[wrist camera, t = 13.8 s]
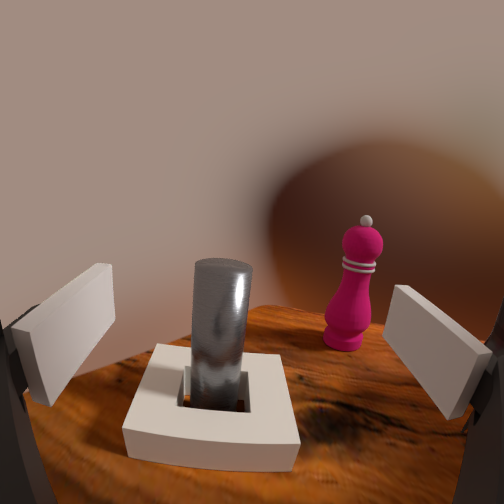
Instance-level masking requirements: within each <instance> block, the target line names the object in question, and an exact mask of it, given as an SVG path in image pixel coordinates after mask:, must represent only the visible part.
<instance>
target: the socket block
mask: <svg viewBox="0 0 504 504" xmlns="http://www.w3.org/2000/svg"><path fill="white" fill-rule="evenodd" d="M190 373H191V348H188V347H180V346H172V345H164V344H157V345H156V348H155V350H154V352H153V354H152V357H151V359H150V361H149V364H148V366H147V368H146V371H145V373H144V375H143V378H142V380H141V382H140V385H139V387H138V389H137V392H136V394H135V397H134V399H133V401H132V404H131V406H130V409H129V411H128V414H127V416H126V418H125V421H124V423H123V426H122V430H123V435H124V440H125V444H126V449H127V453H128V457H131V458H135V459H140V460H146V461H151V462H157V463H163V464H169V465H176V466H183V467H192V468H201V469H211V470H225V471H244V472H291V471H292V468H293V465H294V462H295V459H296V456H297V453H298V450H299V447H300V444H301V443H300V439H299V434H298V430H297V426H296V422H295V417H294V413H293V409H292V405H291V400H290V396H289V392H288V388H287V383H286V379H285V375H284V371H283V366H282V362H281V358H280V355H272V354H255V353H243V357H242V365H241V374H240V382H239V391H238V399H237V400H244V402H245V413H242V412H227V411H215V410H204V409H195V408H186V407H182V406H183V401H184V396H185V395H190Z"/></svg>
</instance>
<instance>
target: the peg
mask: <svg viewBox="0 0 504 504" xmlns="http://www.w3.org/2000/svg"><path fill="white" fill-rule="evenodd" d="M252 271H253V269H252V267H251V266H250V265H249V264H246V263H244V262H241V261H236V260H232V259H223V258H208V259H202V260H199V261H197V262H196V263H195V273H194V291H193V311H192V336H191V373H190V408H195V409H204V410H215V411H227V412H236V408H237V399H238V391H239V382H240V374H241V365H242V357H243V348H244V340H245V331H246V323H247V314H248V306H249V297H250V288H251V280H252Z"/></svg>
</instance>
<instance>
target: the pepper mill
mask: <svg viewBox="0 0 504 504" xmlns="http://www.w3.org/2000/svg"><path fill="white" fill-rule="evenodd" d="M360 222H361V225H362V226H354V227H352V228H350V229H349V230H347V232H346V233H345V235H344V237H343V241H342V247H343V249H344V251H345V253H346V256H344V257H343V260H344V261H343V263H342V266H343V267H344V273H343V278H342V281H341V284H340V286H339V289H338V290H337V292H336V294H335V295H334V296H333V298H332V299H331V301H330V302H329V304H328V306H327V309H326V312H325V321H326V323H327V324H328V326H327V327H326V328H325V331H324V335H323V340H324V342H325V343H326V344H327V345H328V346H329V347H331V348H333V349H336V350H340V351H354V350H357V349H358V348H360V346H361V343H362V339H363V334H362V332H363V331H365V330H366V329H367V328H368V327H369V325H370V320H371V307H370V301H369V289H368V288H369V280H370V276H371V273H373V272H374V271H375V269H374V268H375V265H376V263H375V262H374V260H375V259H376V258H377V257H378V256H379V255H380V254H381V252H382V247H383V241H382V237H381V235H380V234H379V233H378V231H376V230H375V229H373V228H371V227H370V226H371V225H372V219H371V217H370V216H367V215H365V216H363V217H362V218H361V220H360Z"/></svg>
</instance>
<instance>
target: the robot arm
mask: <svg viewBox="0 0 504 504" xmlns="http://www.w3.org/2000/svg"><path fill="white" fill-rule="evenodd" d="M114 321H115V311H114V298H113V281H112V264H103V263H96V264H95V265H93V266H92V267H91V268H89V269H88V270H86V271H85V272H84V273H82V274H81V275H79V276H78V277H76V278H75V279H74V280H72V281H71V282H69V283H68V284H67V285H65V286H64V287H63V288H61V289H60V290H59V291H57V292H56V293H54V294H53V295H52V296H50V297H49V298H48V299H46V300H45V301H44V302H42V303H41V304H38V305H36V306H33V307H31V308H30V309H29V310H27V311H26V312H25V313H24V314H22V315H21V316H20V317H19V318H18V319H16V320H14V321H13V322H12V323H11V324H9V325H8V326H7V327H6V328H4V329H2V325H1V320H0V504H58V503H57V500H56V498H55V495H54V493H53V491H52V488H51V485H50V483H49V480H48V478H47V475H46V472H45V469H44V466H43V464H42V461H41V458H40V454H39V451H38V448H37V445H36V441H35V438H34V434H33V431H32V427H31V423H30V419H29V415H28V411H27V407H26V402H25V399H24V397H23V392H24V391H25V390H26V389H27V387H28V389H29V391H30V394H31V397H32V400H33V401H35V402H37V403H40V404H43V405H46V406H49V407H52V405H53V404H54V402H55V401H56V399H57V398H58V396H59V395H60V394H61V392H62V391H63V389H64V388H65V386H66V385H67V384H68V382H69V381H70V379H71V378H72V377H73V375H74V374H75V372H76V371H77V370H78V368H79V367H80V366H81V364H82V363H83V362H84V360H85V359H86V357H87V356H88V355H89V353H90V352H91V351H92V349H93V348H94V347H95V345H96V344H97V343H98V341H99V340H100V339H101V337H102V336H103V335H104V333H105V332H106V331H107V330H108V328H109V327H110V326H111V324H112V323H113V322H114ZM382 336H383V338H384V339H385V340H386V341H387V342H388V344H389V345H390V346H391V347H392V349H393V350H394V351H395V353H396V354H397V355H398V356H399V358H400V359H401V360H402V361H403V363H404V364H405V365H406V366H407V368H408V369H409V370H410V372H411V373H412V374H413V375H414V377H415V378H416V379H417V381H418V382H419V383H420V385H421V386H422V387H423V388H424V390H425V391H426V392H427V394H428V395H429V396H430V398H431V399H432V400H433V402H434V403H435V404H436V406H437V407H438V408H439V410H440V411H441V412H442V414H443V415H444V416H445V418H446V419H447V420H451V419H455V418H458V417H462V416H463V414H464V412H465V410H466V409H467V407H468V405H469V403H470V404H471V405H472V406H473V408H474V410H473V411H472V413H471V415H470V417H469V419H468V420H467V422H466V424H465V426H464V427H463V429H462V431H461V433H464V431H465V430H466V429H468V432H467V439H466V445H465V451H464V456H463V461H462V466H461V470H460V475H459V479H458V483H457V487H456V491H455V495H454V498H453V502H452V504H504V298H503V301H502V304H501V307H500V311H499V314H498V316H497V320H496V322H495V326H494V328H493V331H492V333H491V335H490V336H489V337H488V339H487V340H486V342H485V343H484V344H482V343H481V342H480V341H479V340H477V339H476V338H475V337H474V336H472V335H471V334H470V333H469V332H468V331H466V330H465V329H464V328H463V327H461V326H460V325H459V324H458V323H456V322H455V321H454V320H453V319H451V318H450V317H449V316H448V315H446V314H445V313H443V312H442V311H441V310H440V309H438V308H437V307H436V306H435V305H433V304H432V303H431V302H429V301H428V300H427V299H425V298H424V297H423V296H421V295H420V294H419V293H417V292H416V291H415V290H413V289H412V288H411V287H409V286H407V285H395V288H394V292H393V296H392V300H391V305H390V309H389V313H388V317H387V320H386V324H385V328H384V332H383V335H382Z"/></svg>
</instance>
